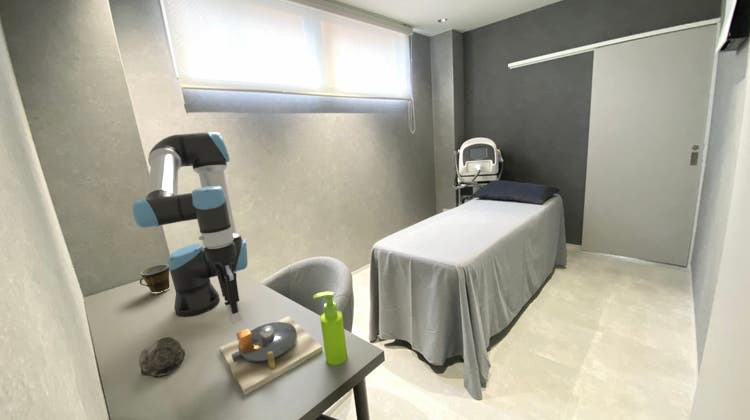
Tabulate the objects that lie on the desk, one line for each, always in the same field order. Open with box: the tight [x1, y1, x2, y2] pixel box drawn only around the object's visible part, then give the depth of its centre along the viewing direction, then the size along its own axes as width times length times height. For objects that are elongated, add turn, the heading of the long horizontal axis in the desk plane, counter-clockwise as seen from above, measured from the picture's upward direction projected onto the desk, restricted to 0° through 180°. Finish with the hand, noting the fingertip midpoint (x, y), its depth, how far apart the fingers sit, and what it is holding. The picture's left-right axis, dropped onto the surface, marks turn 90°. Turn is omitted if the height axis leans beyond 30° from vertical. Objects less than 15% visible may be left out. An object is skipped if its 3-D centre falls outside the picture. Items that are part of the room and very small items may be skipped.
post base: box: [219, 315, 323, 396], centre depth 92 cm, size 22×22×6 cm
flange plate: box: [231, 321, 297, 363], centre depth 90 cm, size 18×16×6 cm
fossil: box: [138, 336, 186, 379], centre depth 89 cm, size 11×9×10 cm
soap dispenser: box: [312, 291, 348, 366], centre depth 85 cm, size 6×7×20 cm
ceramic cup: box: [139, 263, 170, 293], centre depth 134 cm, size 13×10×10 cm
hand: (235, 321), depth 91 cm, fingers closed
